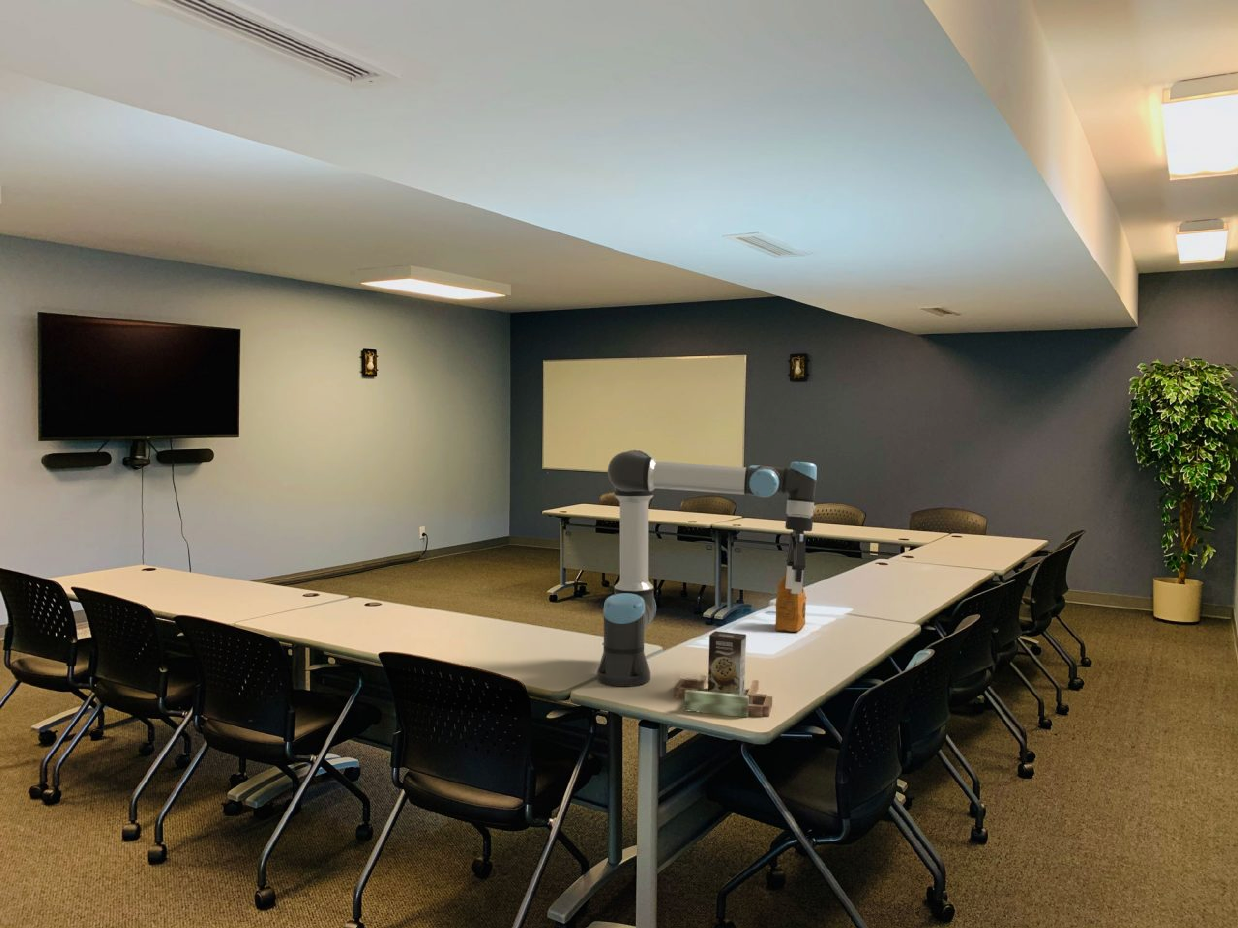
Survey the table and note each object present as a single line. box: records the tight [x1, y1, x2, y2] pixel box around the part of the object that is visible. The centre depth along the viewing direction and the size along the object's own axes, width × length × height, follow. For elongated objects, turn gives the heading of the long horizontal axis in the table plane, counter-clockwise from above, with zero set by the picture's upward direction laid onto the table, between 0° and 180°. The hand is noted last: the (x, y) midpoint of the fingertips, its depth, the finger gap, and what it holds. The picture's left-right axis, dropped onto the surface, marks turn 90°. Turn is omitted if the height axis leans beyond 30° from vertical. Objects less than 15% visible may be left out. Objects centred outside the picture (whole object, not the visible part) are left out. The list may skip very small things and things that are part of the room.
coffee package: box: [775, 571, 807, 633], centre depth 308 cm, size 10×12×22 cm
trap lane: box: [673, 674, 773, 718], centre depth 230 cm, size 26×24×5 cm
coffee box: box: [707, 630, 747, 695], centre depth 235 cm, size 9×6×16 cm
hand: (793, 591), depth 246 cm, fingers open, 13 cm apart
